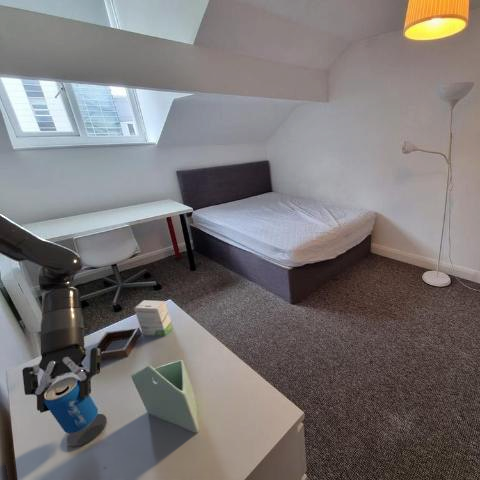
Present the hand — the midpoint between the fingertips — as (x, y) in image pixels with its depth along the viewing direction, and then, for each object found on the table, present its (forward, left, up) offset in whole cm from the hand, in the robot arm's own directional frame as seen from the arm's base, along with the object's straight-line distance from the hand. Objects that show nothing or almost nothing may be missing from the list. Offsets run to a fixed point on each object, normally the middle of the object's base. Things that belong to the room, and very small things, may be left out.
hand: (65, 404), depth 60 cm
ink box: (+5, +35, -12) cm, 38 cm away
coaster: (0, +1, -12) cm, 12 cm away
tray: (-6, +30, -12) cm, 33 cm away
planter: (+22, +2, -12) cm, 25 cm away
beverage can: (0, +2, -9) cm, 9 cm away
